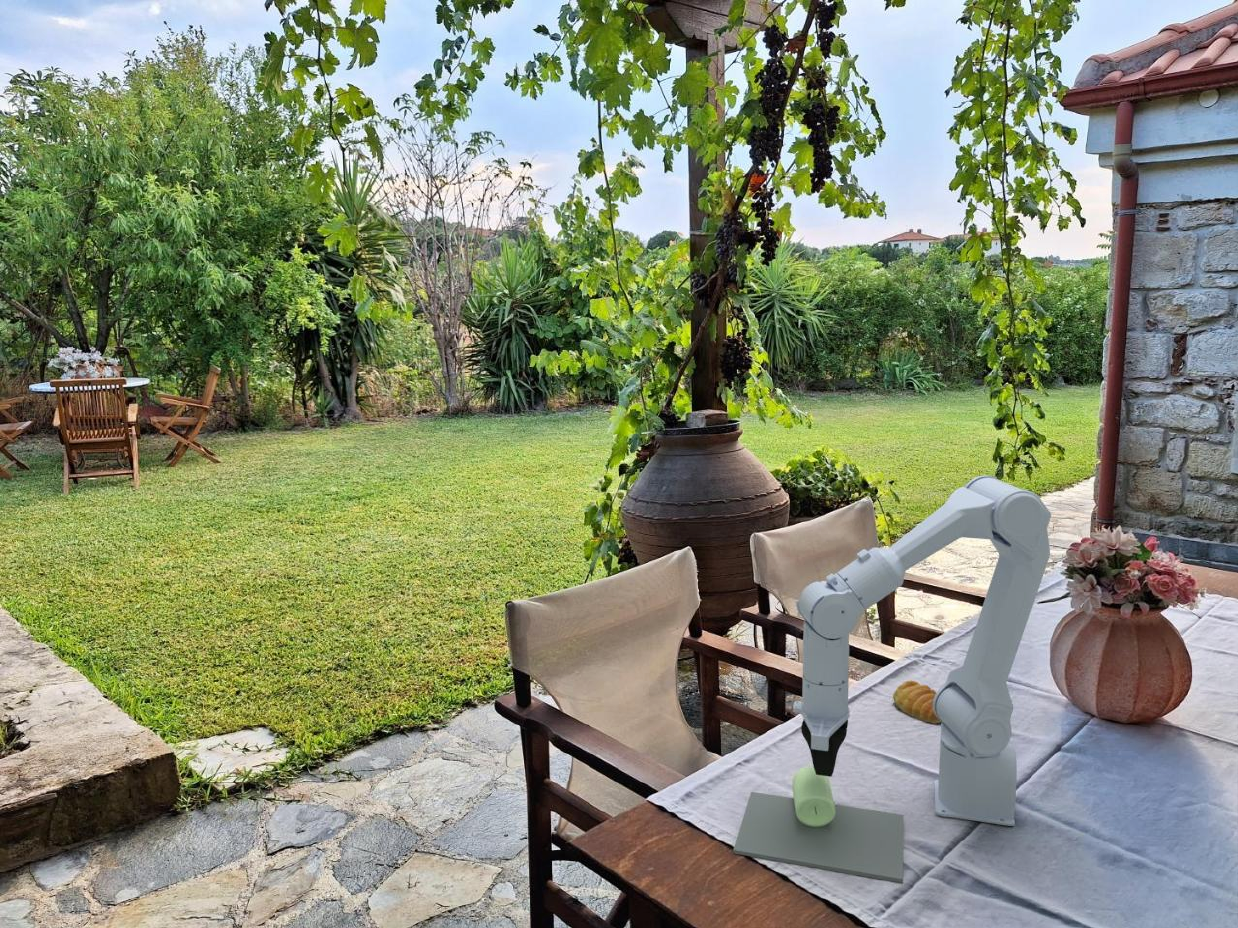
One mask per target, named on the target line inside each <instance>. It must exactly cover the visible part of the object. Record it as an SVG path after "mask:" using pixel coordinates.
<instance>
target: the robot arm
mask: <svg viewBox="0 0 1238 928" xmlns="http://www.w3.org/2000/svg"><path fill="white" fill-rule="evenodd" d="M1051 518H1052V513H1051V512H1050V510H1049V508H1047V506H1046V504H1044V502H1043V500H1042V499H1041V497H1040V496H1038V495H1037V494H1036V493H1034V492H1033V491H1030V490H1028V489H1023V488H1019V487H1017V486H1015V485H1012V484H1010V483H1007V482H1004V481H1002V480H1001V479H998V478H997V477H995V476H992V475H986V474H985V475H984V474H983V475H979V476H976V477H973V478H972V479H971V480H969V481H968V482H967V483H966V484H965V486H961V487H959V488H957V489H954V490H953V492H952V493H951V495H950V496H949V498H948V499H947V501H945V503H944V504H943V505H942V506H940V507H939V508H937V510H935V511H934V512H933V513H931V514H930V515H929V516H928V517H926V518H925V519H924V520H923V521H921V522H920V523H919V524H917V525H916V526H915V527H914V528H913V529H911V530H910V531H909V532H908V533H906V534H905V535H903V536H902V537H901V538H900V539H898V540H897V541H896V542H895V543H893V544H892V545H891V546H889V547H888V548H882V547H876V546H875V547H872V548H871V549H869V550H867V549H865V548H864V549H862V550H860V551H859V552H857V553H856V557H857V558H856V559H855V560H853V561H851V562H850V563H849V564H847V565H846V566H844V567H843V568H841V569H840V570H839V571H837V572H836V573H834V574H833V573H830V574H829V575H827V576H826V577H825V579H826V580H821V581H815V582H814V581H813V582H812V583H810V584H809V585H807V586H805V588H804V589H803V590H802V592H801V595H800V596H799V599H798V600H796V602H795V604H796V605H795V606H796V610H797V612H798V614H799V615H800V616H801V617H802V618H803V620H804V621H803V637H802V692H801V693H802V695H801V696H802V698H801V699H802V701H801V700H800V701H797V700H796V701H794V702H793V705H792V712H793V713H796V714H800V715H802V718H803V719H802V723H801V727H800V729H801V730H800V732H801V734H802V737H803V738H804V739H805V741H806V743H807V746H808V748H809V752H810V755H811V758H812V759H811V760H812V767H814V770H815V773H816V775H822V776H828V778H829V777H833V775H834V772H835V771H834V770H835V766H836V761H837V758H838V757H837V756H838V752H839V749H840V747H841V745H842V744H843V742H845V739H846V737H847V732H848V726H849V718H850V711H851V709H850V707H849V683H850V682H849V681H850V680H849V669H850V668H849V666H850V664H849V663H850V634H851V633H852V632H853V631H854V629H855V628H856V626H857V624H858V622H859V619H860V617H861V616H862V615H863V614H864V612H865V611H867V610H868V609H870V608H872V606H874V605H875V604H877V603H878V602H880V601H882V600H883V599H884V598H885V597H887V596H888V595H890V594H892V592H894V591H896V590H897V589H898V588H900V587H902V585H903V584H904V582H905V581H904V580H905V574H906V571H908V570H909V569H911V568H913V567H914V566H916V565H918V564H920V563H921V562H923V561H924V560H926V559H927V558H929V557H931V556H932V555H934V554H936V553H938V552H939V551H941V550H942V549H944V548H946V547H947V546H949V545H951V544H953V543H954V542H956V541H957V540H959V539H961V538H967V539H968V538H969V539H977V540H978V539H979V540H980V539H981V540H989V541H990V542H991V544H992V545H993V547H994V548H995V549H996V551H997V553H998V559H997V562H996V565H995V568H994V571H993V574H992V578H991V580H990V583H989V587H988V589H987V592H986V594H985V595H986V596H985V598H984V601H983V603H982V607H981V610H980V614H979V617H978V619H977V623H976V625H975V628H974V631H973V634H972V637H971V641H970V644H969V646H968V649H967V652H966V655H965V658H964V660H963V661H964V662H963V665H961V666H960V667H957V668H954V669H952V670H950V671H949V673H948V676H947V678H946V681H945V682H944V683H943V685H942V686H941V687H940V688H939V689H938V690H937V691H936V695H935V697H934V700H933V711H934V713H935V715H936V717H937V718H938V719H939V720H940V721H941V722H940V742H939V745H940V746H939V765H938V767H939V768H938V779H935V780H934V782H933V789H934V807H935V811H934V812H935V814H936V815H938V816H942V817H948V818H954V819H962V820H969V821H974V822H981V823H988V824H995V825H1002V826H1009V827H1014V826H1015V814H1016V813H1015V812H1016V811H1015V810H1016V801H1017V777H1018V776H1017V775H1018V773H1017V772H1018V770H1017V767H1018V765H1017V764H1018V763H1017V753H1016V748H1015V747H1014V746H1012V745H1009V742H1010V740H1011V738H1012V734H1013V733H1012V724H1011V723H1012V722H1011V717H1012V714H1013V711H1014V704H1013V701H1012V697H1011V694H1010V691H1009V688H1008V685H1007V681H1008V679H1009V677H1010V674H1011V670H1012V668H1013V664H1014V661H1015V659H1016V656H1017V653H1018V650H1019V647H1020V644H1021V641H1022V638H1023V635H1024V632H1025V629H1026V627H1027V625H1028V620H1029V617H1030V615H1031V612H1032V610H1033V606H1034V603H1035V601H1036V598H1037V594H1038V592H1039V588H1040V586H1041V583H1042V580H1043V576H1044V574H1045V570H1046V568H1047V566H1048V562H1049V559H1050V554H1051V551H1050V550H1051V549H1050V540H1049V533H1048V527H1049V523H1050V520H1051Z"/></svg>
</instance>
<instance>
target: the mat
mask: <svg viewBox="0 0 1238 928" xmlns="http://www.w3.org/2000/svg"><path fill="white" fill-rule="evenodd" d="M834 805H835V810H836V811H835V816H834V818H833V820H832V821H831V822H830V823H828V824H826V825H824V826H820V827H812V826H808V825H805V824H803V823H802V822H801V821H800V820H799V819H798V818H797V815H796V811H795V802H794V797H788V796H782V795H776V794H775V795H774V794H770V793H763V792H755V791H751V792H750V795H749V798H748V801H747V804H746V807H745V811H744V813H743V816H742V817H743V818H742V821H741V824H740V827H739V831H738V834H737V837H736V841H735V843H734V847H733V855H734V854H735V855H739V856H740V855H741V856H747V857H751V858H752V857H753V858H758V859H763V860H770V861H773V862H782V863H787V864H792V865H798V866H804V867H809V868H813V869H814V868H816V869H821V870H826V871H832V872H839V873H843V874H844V873H845V874H849V875H854V876H860V877H868V878H873V879H878V880H884V881H888V882H895V883H900V884H901V883H902V884H903V883H904V818H905V817H904V816H905V815H904V814H901V813H895V812H887V811H881V810H874V809H868V808H861V807H856V806H855V807H854V806H848V805H842V804H835V803H834Z"/></svg>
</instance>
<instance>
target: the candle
mask: <svg viewBox="0 0 1238 928" xmlns="http://www.w3.org/2000/svg"><path fill="white" fill-rule="evenodd" d="M792 791H793V793H792V794H793V798H794V802H795V811H796V815H797V818H798V819H799V820H800V821H801V822H802V823H803V824H805V825H808V826H812V827H820V826H824V825H826V824H828V823H830V822H831V821H832V820H833V818H834V816H835V811H836V810H835V805H834V804H835V801H834V795H833V791H832V786H831V782H830V778H829V776H822V775H816V773H815V770H814V766H813V765H811V766H804V767H802V768H800V769H798V770H797V771H796V772H795V773H794V775H793V777H792Z"/></svg>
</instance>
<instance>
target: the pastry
mask: <svg viewBox="0 0 1238 928" xmlns="http://www.w3.org/2000/svg"><path fill="white" fill-rule="evenodd" d="M895 689H896V690H895V691H894V693H893V694H892V699H893V701H894V703H895V705H896V707H897V708H898V709H900V710H901V711H902V712H903V713H905V714H906V715H910V716H911V717H913V718H915V719H917V720H920V721H922V722H925V723H931V724H933V725H934V724H941V721H940V720H939V719H938V718H937V717H936V715H935V713H934V711H933V700H934V697H935V695H936V693H937V691H936V690H935V689H932V688H931V687H929V686H928V685H925V684H920V683H919V682H918V681H915V680H908V681H907V680H906V681H905V682H902V684H900V685H899V686H897V688H895Z"/></svg>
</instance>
